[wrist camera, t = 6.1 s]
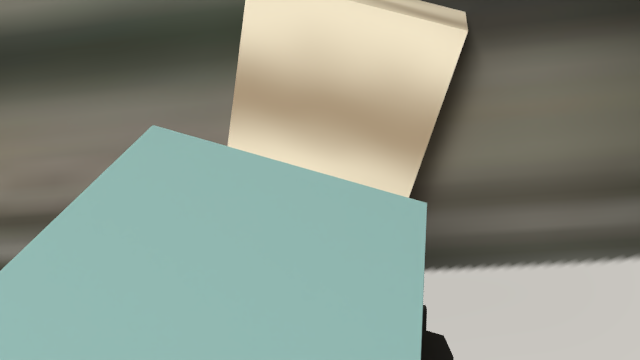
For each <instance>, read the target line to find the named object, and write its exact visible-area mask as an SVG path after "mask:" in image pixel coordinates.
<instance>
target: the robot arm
mask: <svg viewBox="0 0 640 360" xmlns="http://www.w3.org/2000/svg"><path fill="white" fill-rule="evenodd" d="M426 314H427V309H426V306H425V305H423V315H422V339H421V360H453V355H452V353H451V351H450V349H449V347H448V344H447V342H446V340H445V338H444V336H443V335H439V334H436V333H432V332H430V331H426Z"/></svg>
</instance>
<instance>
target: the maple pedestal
mask: <svg viewBox="0 0 640 360" xmlns="http://www.w3.org/2000/svg"><path fill="white" fill-rule="evenodd" d="M467 33H468V27H467V20H466V13H465V12H463V11H459V10H455V9H451V8H447V7H443V6H439V5H435V4H432V3H428V2H424V1H420V0H246V1H245V9H244V17H243V25H242V34H241V42H240V50H239V58H238V66H237V74H236V82H235V90H234V99H233V107H232V115H231V123H230V131H229V139H228V147H232V148H235V149H239V150H242V151H246V152H249V153H253V154H256V155H260V156H263V157H267V158H270V159H274V160H277V161H281V162H284V163H288V164H291V165H295V166H298V167H302V168H305V169H309V170H313V171H316V172H320V173H323V174H327V175H330V176H334V177H337V178H341V179H344V180H348V181H351V182H355V183H358V184H362V185H365V186H369V187H372V188H376V189H379V190H383V191H386V192H390V193H393V194H397V195H401V196H404V197H408V198H409V196H410V193H411V190H412V187H413V184H414V182H415V179H416V176H417V173H418V170H419V168H420V165H421V162H422V159H423V156H424V154H425V151H426V148H427V145H428V142H429V139H430V137H431V134H432V131H433V128H434V125H435V123H436V120H437V117H438V114H439V111H440V109H441V106H442V103H443V100H444V97H445V95H446V92H447V89H448V86H449V83H450V80H451V78H452V75H453V72H454V69H455V66H456V64H457V61H458V58H459V55H460V52H461V50H462V47H463V44H464V41H465V38H466V36H467Z"/></svg>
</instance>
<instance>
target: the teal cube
mask: <svg viewBox="0 0 640 360" xmlns="http://www.w3.org/2000/svg"><path fill="white" fill-rule="evenodd" d="M426 215H427V203H425V202H422V201H418V200H415V199H411V198H408V197H404V196H401V195H397V194H393V193H390V192H386V191H383V190H379V189H376V188H372V187H369V186H365V185H362V184H358V183H355V182H351V181H348V180H344V179H341V178H337V177H334V176H330V175H327V174H323V173H320V172H316V171H313V170H309V169H305V168H302V167H298V166H295V165H291V164H288V163H284V162H281V161H277V160H274V159H270V158H267V157H263V156H260V155H256V154H253V153H249V152H246V151H242V150H239V149H235V148H232V147H228V146H225V145H221V144H217V143H214V142H210V141H207V140H203V139H200V138H196V137H193V136H189V135H186V134H182V133H179V132H175V131H172V130H168V129H165V128H161V127H158V126H154V125H152V126H151V127H150V128H149V129H148V130H147V131H146V132H145V133H144V134H143V135H142V136H141V137H140V138H139V139H138V140H137V141H136V142H135V143H134V144H132V145H131V146H130V147H129V148H128V149H127V150H126V151H125V152H124V153H123V154H122V155H121V156H120V157H119V158H118V159H117V160H116V161H115V162H114V163H113V164H112V165H111V166H110V167H108V168H107V169H106V170H105V171H104V172H103V173H102V174H101V175H100V176H99V177H98V178H97V179H96V180H95V181H94V182H93V183H92V184H91V185H90V186H89V187H88V188H87V189H86V190H84V191H83V192H82V193H81V194H80V195H79V196H78V197H77V198H76V199H75V200H74V201H73V202H72V203H71V204H70V205H69V206H68V207H67V208H66V209H65V210H64V211H63V212H61V213H60V214H59V215H58V216H57V217H56V218H55V219H54V220H53V221H52V222H51V223H50V224H49V225H48V226H47V227H46V228H45V229H44V230H43V231H42V232H41V233H40V234H39V235H37V236H36V237H35V238H34V239H33V240H32V241H31V242H30V243H29V244H28V245H27V246H26V247H25V248H24V249H23V250H22V251H21V252H20V253H19V254H18V255H17V256H16V257H15V258H13V259H12V260H11V261H10V262H9V263H8V264H7V265H6V266H5V267H4V268H3V269H2V270H1V271H0V360H421V339H422V315H423V288H424V265H425V240H426Z"/></svg>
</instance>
